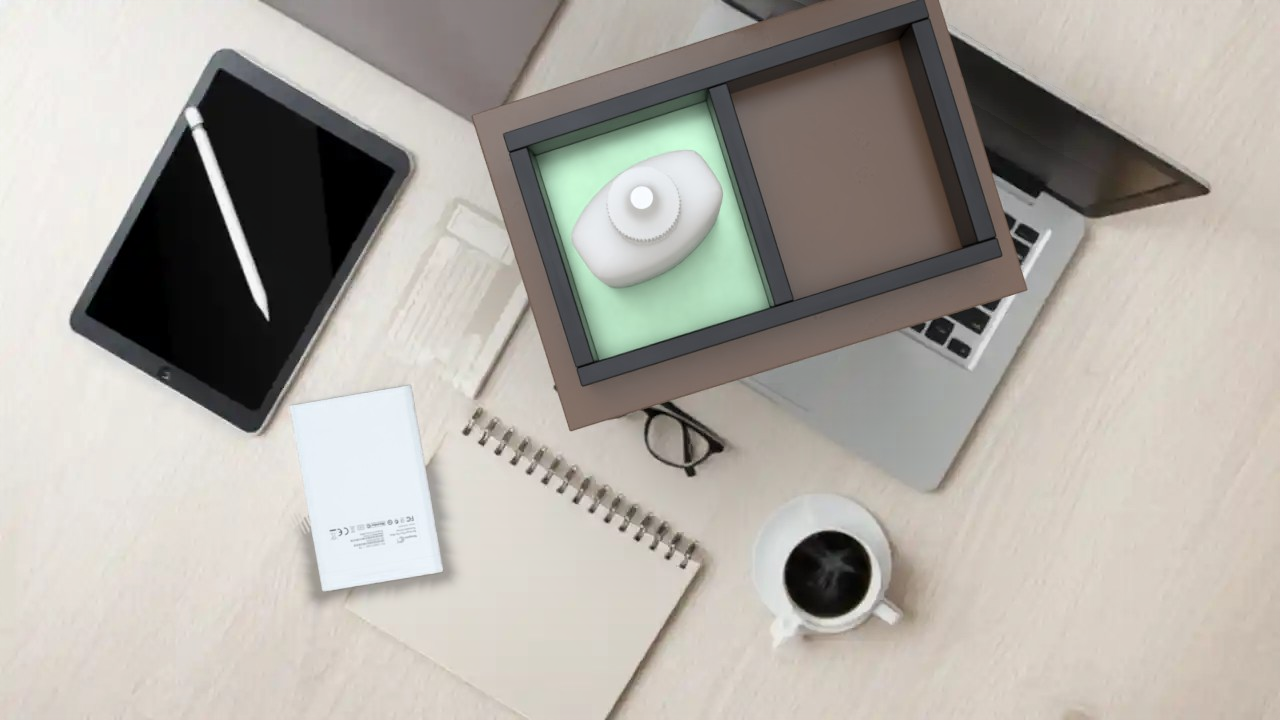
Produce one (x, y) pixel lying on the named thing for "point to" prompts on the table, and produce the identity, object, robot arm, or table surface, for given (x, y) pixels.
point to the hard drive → (366, 488)
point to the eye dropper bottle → (648, 218)
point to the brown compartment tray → (758, 201)
